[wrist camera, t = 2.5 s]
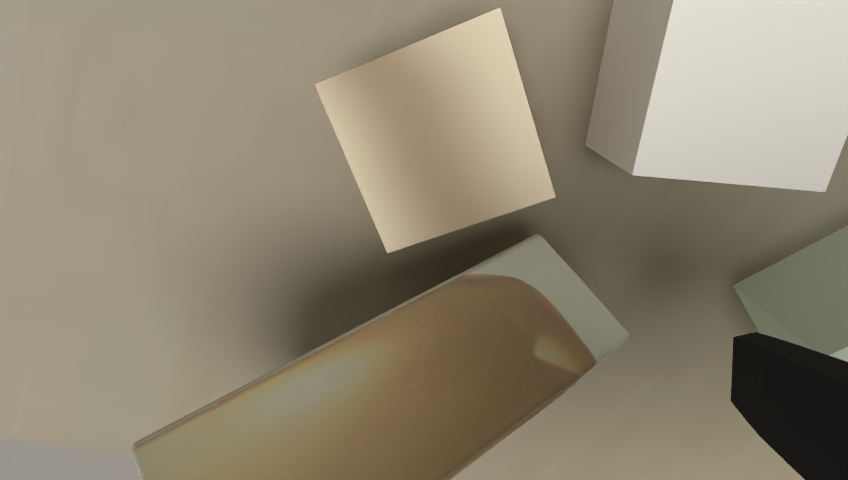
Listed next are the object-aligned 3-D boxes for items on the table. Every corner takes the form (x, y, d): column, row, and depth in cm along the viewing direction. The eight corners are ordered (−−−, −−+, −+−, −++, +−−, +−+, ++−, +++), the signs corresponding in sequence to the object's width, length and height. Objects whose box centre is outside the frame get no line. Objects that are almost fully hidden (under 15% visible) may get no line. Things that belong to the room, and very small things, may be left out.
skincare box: (556, 399, 18) (250, 634, 13) (487, 311, 20) (194, 487, 15) (643, 332, 13) (191, 680, 8) (540, 221, 15) (116, 445, 10)
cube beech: (486, 24, 16) (500, 7, 11) (528, 162, 17) (555, 197, 13) (353, 79, 17) (314, 84, 12) (404, 205, 18) (387, 253, 14)
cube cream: (770, 3, 15) (909, -25, 10) (723, 157, 17) (824, 192, 12) (614, -9, 15) (683, -41, 11) (584, 145, 17) (632, 175, 12)
